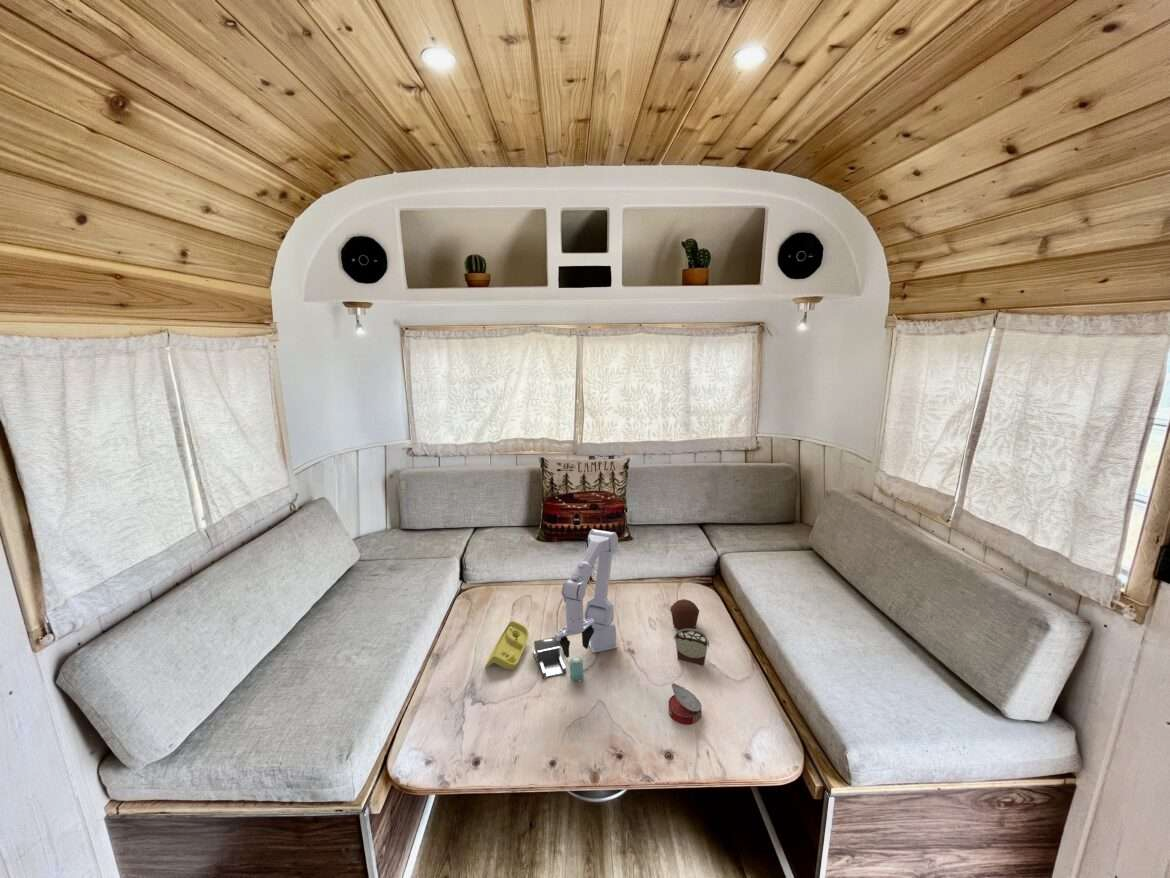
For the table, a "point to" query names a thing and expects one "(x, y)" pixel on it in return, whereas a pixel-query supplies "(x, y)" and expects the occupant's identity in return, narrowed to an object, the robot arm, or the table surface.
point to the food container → (691, 646)
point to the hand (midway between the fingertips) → (575, 651)
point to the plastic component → (509, 646)
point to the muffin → (684, 614)
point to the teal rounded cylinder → (576, 669)
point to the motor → (549, 657)
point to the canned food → (684, 706)
